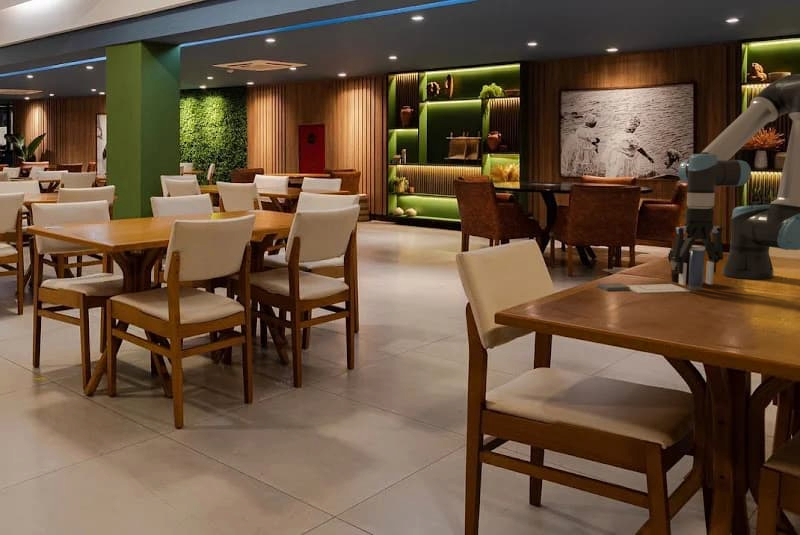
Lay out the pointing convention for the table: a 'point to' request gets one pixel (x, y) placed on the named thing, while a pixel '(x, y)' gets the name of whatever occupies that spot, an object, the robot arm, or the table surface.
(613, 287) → the coaster
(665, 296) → the table surface
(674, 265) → the coffee mug
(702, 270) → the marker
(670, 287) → the paper
